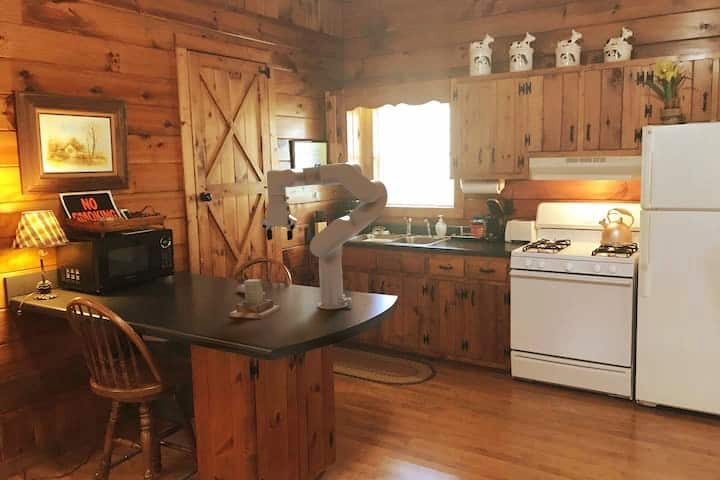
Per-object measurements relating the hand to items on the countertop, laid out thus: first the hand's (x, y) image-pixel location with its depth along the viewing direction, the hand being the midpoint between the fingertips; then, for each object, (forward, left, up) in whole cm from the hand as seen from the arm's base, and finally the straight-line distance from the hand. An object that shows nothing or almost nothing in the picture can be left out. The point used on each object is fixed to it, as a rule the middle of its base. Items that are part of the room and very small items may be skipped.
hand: (279, 239), depth 256 cm
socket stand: (+5, +15, -28) cm, 32 cm away
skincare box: (+5, +15, -27) cm, 31 cm away
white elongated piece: (+25, -13, -29) cm, 41 cm away
